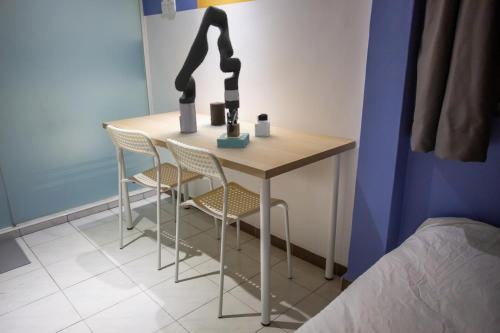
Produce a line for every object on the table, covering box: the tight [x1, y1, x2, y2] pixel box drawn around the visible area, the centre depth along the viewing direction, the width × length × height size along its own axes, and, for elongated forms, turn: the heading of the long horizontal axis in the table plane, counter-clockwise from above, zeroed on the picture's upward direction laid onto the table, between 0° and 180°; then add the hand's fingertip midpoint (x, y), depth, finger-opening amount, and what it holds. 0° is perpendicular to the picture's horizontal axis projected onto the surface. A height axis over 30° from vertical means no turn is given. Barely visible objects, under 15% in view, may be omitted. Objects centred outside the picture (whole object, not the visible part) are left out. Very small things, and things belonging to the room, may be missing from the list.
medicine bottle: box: [254, 113, 271, 138], centre depth 210 cm, size 7×7×12 cm
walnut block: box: [226, 122, 241, 137], centre depth 193 cm, size 6×6×6 cm
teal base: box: [216, 132, 250, 148], centre depth 195 cm, size 14×14×4 cm
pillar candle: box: [209, 101, 227, 126], centre depth 242 cm, size 10×10×15 cm
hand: (233, 130), depth 193 cm, fingers open, 8 cm apart
